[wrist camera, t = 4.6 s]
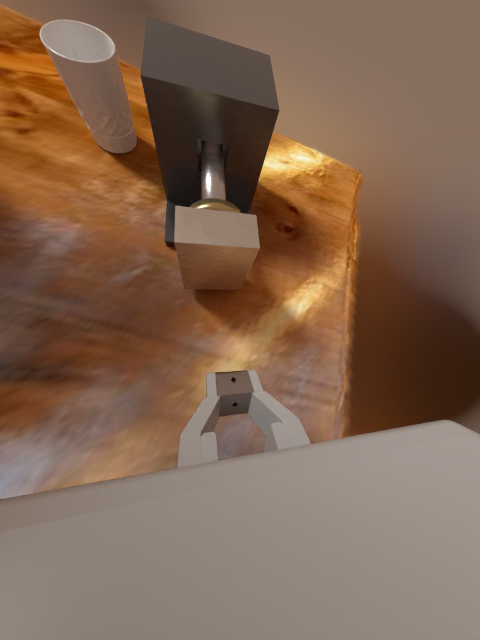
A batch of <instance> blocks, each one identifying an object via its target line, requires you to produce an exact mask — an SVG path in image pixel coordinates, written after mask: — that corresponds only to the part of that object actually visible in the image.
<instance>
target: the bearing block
mask: <svg viewBox="0 0 480 640" xmlns="http://www.w3.org/2000/svg"><path fill="white" fill-rule="evenodd" d="M141 79H142V84H143V89H144V93H145V98H146V103H147V107H148V112H149V117H150V122H151V126H152V131H153V136H154V141H155V145H156V150H157V155H158V159H159V164H160V169H161V174H162V178H163V183H164V188H165V193H166V197H167V209H166V232H165V243H166V246H175V243H174V233H175V206H183V207H190V206H191V205H192V204H194V203H195V202H197V201H199V200H202V184H201V140H204V141H209V142H214V143H220V144H223V157H224V174H225V191H226V201H228V202H230V203H232V204H233V205H235V206H236V207H237V208H238V209H239V210H240V212H241V213H243V214H250V206H251V203H252V200H253V196H254V193H255V190H256V186H257V183H258V180H259V176H260V173H261V170H262V166H263V163H264V160H265V156H266V153H267V150H268V146H269V143H270V140H271V136H272V133H273V130H274V126H275V123H276V120H277V116H278V113H279V106H278V100H277V94H276V89H275V83H274V78H273V72H272V66H271V60H270V56H269V55H266V54H263V53H260V52H257V51H254V50H251V49H248V48H245V47H241V46H238V45H235V44H232V43H229V42H226V41H222V40H219V39H216V38H213V37H210V36H207V35H204V34H201V33H198V32H195V31H191V30H188V29H185V28H182V27H179V26H176V25H173V24H170V23H166V22H163V21H160V20H157V19H154V18H151V17H147V22H146V32H145V40H144V49H143V59H142V67H141Z"/></svg>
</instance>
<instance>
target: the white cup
mask: <svg viewBox="0 0 480 640" xmlns="http://www.w3.org/2000/svg"><path fill="white" fill-rule="evenodd" d="M40 38H41V41H42V43H43V45H44V46H45V48H46V50H47V52H48V54H49V56H50V58H51V60H52V62H53V64H54V65H55V67H56V69H57V71H58V73H59V75H60V77H61V79H62V81H63V83H64V85H65V86H66V88H67V90H68V92H69V94H70V96H71V98H72V100H73V102H74V104H75V106H76V107H77V109H78V111H79V113H80V114H81V116H82V118H83V120H84V122H85V123H86V124H87V126H88V128H89V130H90V132H91V134H92V136H93V138H94V140H95V141H96V143H97V145H99V146H100V147H101V148H103V149H104V150H106V151H109V152H112V153H126V152H129V151H132V150H133V149H134V148H135V147H136V145H137V137H136V133H135V129H134V125H133V120H132V114H131V110H130V106H129V101H128V97H127V93H126V89H125V85H124V81H123V77H122V72H121V68H120V64H119V60H118V56H117V52H116V48H115V45H114V43H113V41H112V40H111V38H110V37H109V36H108V35H106V34H105V33H104V32H103V31H101V30H99V29H98V28H96V27H94V26H91V25H89V24H86V23H83V22H79V21H72V20H56V21H52V22H49V23H47V24H45V25H44V26H43V27H42V28H41V30H40Z"/></svg>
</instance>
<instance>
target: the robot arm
mask: <svg viewBox="0 0 480 640" xmlns="http://www.w3.org/2000/svg"><path fill="white" fill-rule="evenodd" d="M244 413H248V415H249V416H250V417H251V418H252V420H253V421H254V422H255V423H256V424H257V426H258V427H259V428H260V429H261V430H262V432H263V433H264V434H265V435H266V436H267V440H266V443H265V446H264V449H263V452H262V453H256V454H251V455H245V456H239V457H234V458H228V459H223V460H218V453H217V440H216V434H215V433H214V432H213V430H214V428H215V426H216V424H217V421H218V419H219V417H221V416H228V415H234V414H244ZM0 640H480V435H479V434H477V433H476V432H474V431H472V430H469V429H467V428H466V427H464V426H462V425H459V424H457V423H455V422H453V421H449V420H441V421H435V422H429V423H423V424H418V425H412V426H407V427H401V428H395V429H390V430H385V431H379V432H373V433H368V434H362V435H357V436H351V437H346V438H340V439H334V440H329V441H323V442H318V443H312V444H311V443H310V441H309V439H308V437H307V435H306V433H305V431H304V428H303V426H302V424H301V422H300V420H299V418H297V417H296V416H295V415H294V414H293V413H291V412H290V411H289V410H288V409H287V408H285V407H284V406H283V405H282V404H281V403H279V402H278V401H277V400H276V399H275V398H274V397H272V396H271V395H270V394H269V393H268V392H266V391H263V388H262V385H261V383H260V380H259V377H258V374H257V372H256V370H243V371H231V372H215V373H206V397H205V398H204V399H203V401H202V402H201V404H200V405H199V407H198V409H197V410H196V412H195V413H194V415H193V416H192V418H191V419H190V421H189V422H188V424H187V426H186V427H185V429H184V430H183V432H182V433H181V435H180V443H179V453H178V463H177V468H173V469H167V470H161V471H156V472H150V473H145V474H139V475H134V476H128V477H123V478H117V479H111V480H106V481H100V482H95V483H89V484H84V485H78V486H72V487H67V488H61V489H56V490H50V491H45V492H39V493H33V494H28V495H22V496H17V497H11V498H6V499H0Z"/></svg>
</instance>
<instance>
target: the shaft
mask: <svg viewBox="0 0 480 640" xmlns="http://www.w3.org/2000/svg"><path fill="white" fill-rule="evenodd" d="M201 184H202V200H199V201H197V202H195V203H194V204H192V205H191V206H190V207H183V206H175V233H174V243H175V248H176V252H177V256H178V261H179V265H180V270H181V274H182V279H183V283H184V287H185V289H211V290H240V289H241V286H242V284H243V282H244V280H245V278H246V276H247V274H248V272H249V270H250V268H251V266H252V264H253V262H254V260H255V258H256V256H257V254H258V251H259V249H260V244H259V235H258V225H257V216H256V215H252V214H243V213H241V212H240V210H239V209H238V208H237V207H236V206H235V205H233V204H232V203H230V202H228V201H226V191H225V174H224V157H223V144H220V143H214V142H209V141H204V140H201Z"/></svg>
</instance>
